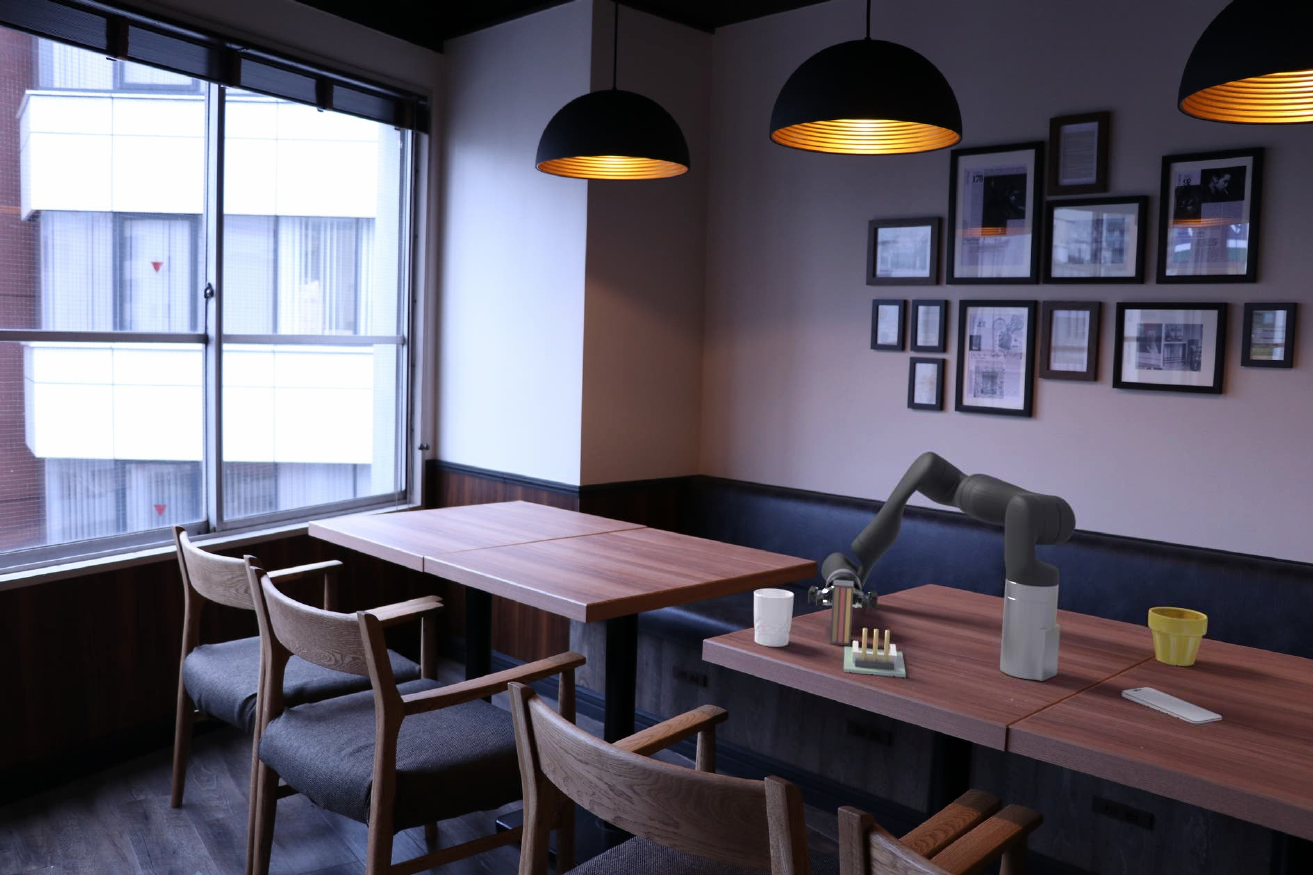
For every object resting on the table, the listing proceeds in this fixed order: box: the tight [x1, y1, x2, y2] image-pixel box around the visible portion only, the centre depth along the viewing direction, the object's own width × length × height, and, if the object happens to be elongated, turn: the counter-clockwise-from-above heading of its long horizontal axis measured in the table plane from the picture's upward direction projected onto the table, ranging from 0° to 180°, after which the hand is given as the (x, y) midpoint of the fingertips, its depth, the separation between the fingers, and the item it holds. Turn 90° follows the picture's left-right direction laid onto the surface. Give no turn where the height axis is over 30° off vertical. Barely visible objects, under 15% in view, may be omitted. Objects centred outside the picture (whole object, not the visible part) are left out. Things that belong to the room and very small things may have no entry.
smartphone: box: [1121, 686, 1223, 724], centre depth 176 cm, size 7×1×15 cm
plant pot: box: [1147, 606, 1209, 667], centre depth 204 cm, size 10×10×10 cm
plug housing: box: [829, 580, 854, 647], centre depth 209 cm, size 5×4×12 cm
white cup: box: [753, 588, 795, 648], centre depth 206 cm, size 8×8×10 cm
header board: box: [843, 627, 907, 679], centre depth 195 cm, size 15×11×8 cm
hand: (842, 605), depth 211 cm, fingers open, 8 cm apart
